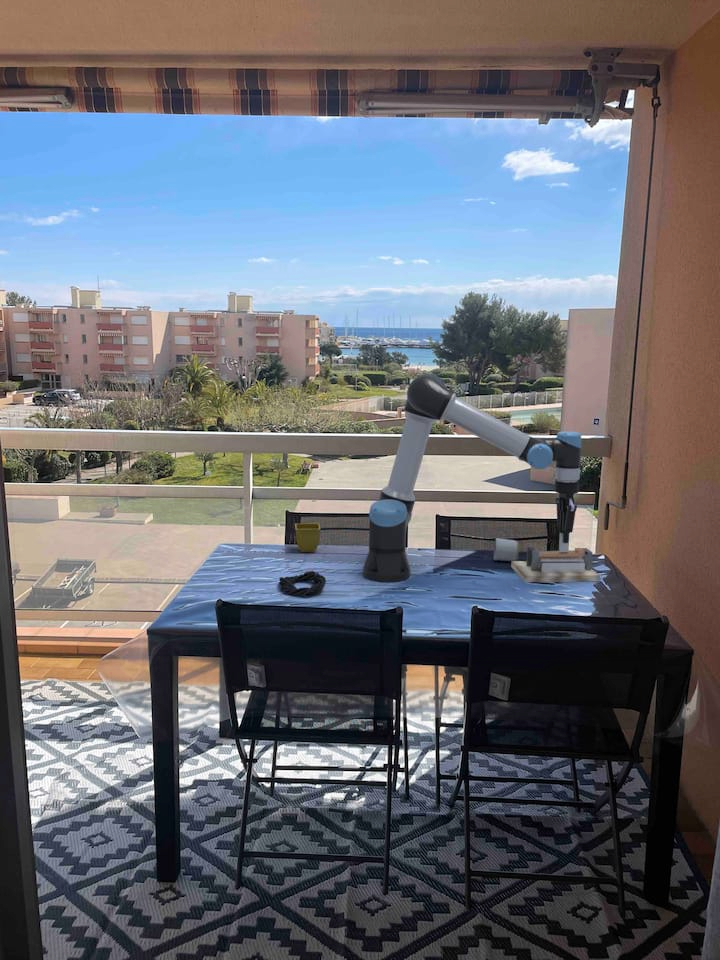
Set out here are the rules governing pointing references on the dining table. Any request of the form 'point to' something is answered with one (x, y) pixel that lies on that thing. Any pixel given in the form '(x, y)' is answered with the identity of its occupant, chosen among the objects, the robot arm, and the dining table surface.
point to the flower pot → (307, 536)
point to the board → (552, 574)
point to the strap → (563, 554)
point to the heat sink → (559, 562)
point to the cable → (318, 579)
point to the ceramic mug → (506, 550)
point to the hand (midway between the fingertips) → (563, 551)
